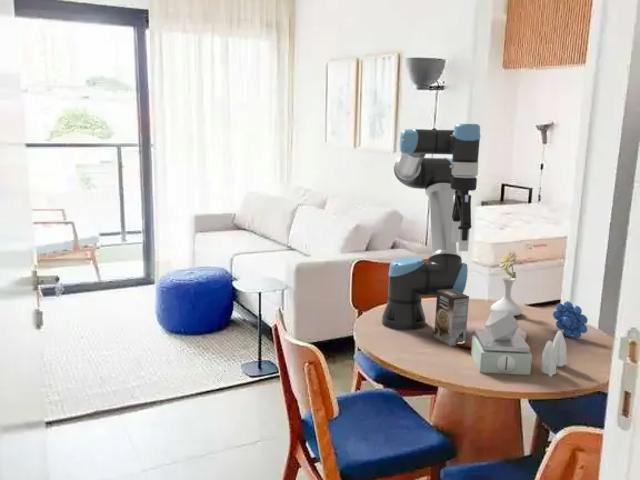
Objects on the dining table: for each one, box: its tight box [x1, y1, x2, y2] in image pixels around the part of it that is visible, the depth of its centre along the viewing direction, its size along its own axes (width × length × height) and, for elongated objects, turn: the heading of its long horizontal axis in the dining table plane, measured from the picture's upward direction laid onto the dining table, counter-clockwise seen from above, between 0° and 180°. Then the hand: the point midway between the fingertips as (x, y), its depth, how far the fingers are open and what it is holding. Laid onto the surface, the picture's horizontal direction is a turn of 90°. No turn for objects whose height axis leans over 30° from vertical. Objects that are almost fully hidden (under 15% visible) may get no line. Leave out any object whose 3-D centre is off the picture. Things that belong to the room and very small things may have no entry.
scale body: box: [470, 334, 533, 376], centre depth 174 cm, size 15×14×7 cm
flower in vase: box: [489, 250, 523, 317], centre depth 218 cm, size 13×11×25 cm
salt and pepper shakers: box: [541, 330, 567, 378], centre depth 171 cm, size 12×4×11 cm, turn 136°
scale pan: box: [474, 329, 531, 353], centre depth 173 cm, size 13×13×1 cm
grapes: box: [552, 300, 588, 339], centre depth 197 cm, size 12×7×12 cm, turn 45°
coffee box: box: [433, 289, 470, 347], centre depth 192 cm, size 9×6×16 cm
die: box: [484, 311, 520, 340], centre depth 173 cm, size 8×9×10 cm
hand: (459, 246), depth 180 cm, fingers open, 13 cm apart
